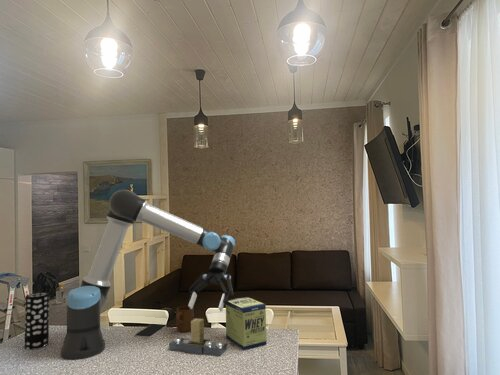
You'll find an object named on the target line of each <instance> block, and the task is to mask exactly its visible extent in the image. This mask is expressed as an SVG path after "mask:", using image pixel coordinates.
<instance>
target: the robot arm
mask: <svg viewBox="0 0 500 375" xmlns="http://www.w3.org/2000/svg"><path fill="white" fill-rule="evenodd" d="M108 204H109V209H108V211H107V214H106V218H107V225H106V227H105V230H104V233H103V235H102V237H101V240H100V243H99V247H98V249H97V251H96V254H95V256H94V259H93V261H92V264H91V267H90V270H89V271H88V274H87V275H86V276H84V277H82V280H81V283H80V284H79V285H80V286H79V287H76V288H73V289H71V290H70V291H69V292H67V297H66V334H65V337H64V341H63V345H62V346H61V350H60V357H61V358H63V359H65V360H66V359H67V360H80V359H85V358H91V357H94V356H96V355H98V354H101V353H102V352H103V351H104V350H105V348H106V342H105V341H106V340H105V339H104V337H103V333H102V330H101V310H102V308H103V307H104V306H105V304H106V302H107V300H108V299H107V298H108V295H109V294H108V293H109V291H110V289H111V286H112V284H111V282H110V278H111V275H112V273H113V269H114V267H115V264H116V261H117V259H118V256H119V253H120V251H121V248H122V245H123V242H124V240H125V237H126V235H127V231H128V229H129V227H131V226H133V225H134V223H135V222H143V223H145V224H147V225H150V226H152V227H154V228H156V229H159V230H162V231H164V232H166V233H169V234H171V235H173V236H174V237H175V236H176V237H178V238H180V239H183V240H184V241H187V242H190V243H192V244H194V245H197V246H199V247H201V248H203V249H205V250H207V251H209V252H210V251H212V252H213V253H214V255H213V258H212V260H211V264H210V266H209V269H208V273H204V272H200V274H199V277H197V279H196V280H195V281H194V282H193V283H192V284H191V285H190V287H189V288H188V292H189V293H190V294H189V298H188V299H189V302H188V305H187V306H189V308H190V309H192V308H193V309H194V305H195V304H196V303H195V302H196V300H197V297H198V293H200V291H202V290H203V289H205V288H206V287H207V286H209V285H212V286H213V285H216V286H217V285H219V286H220V287H221V288H222V291H223V292H224V293H222V295H221V297H220V298H221V299H220V301H219V305H218V309H219V312H223V311H224V306H225V305H226V303H227V300H229V297H230V296H232V297H233V296H234V295H235V294H234V293H235V292H234V290H233V284H232V276H231V274H230V273H227V271H228V267H229V264H230V260H231V257H232V255H233V252H234V250H235V246H236V245H235V244H236V241H235V240H236V239H235V238H234V237H233V236H231V235H228V234H223V235H221V236H219V234H218V233H217V232H214V231H211V230H209V229H206V228H204V227H203V226H200V225H198V224H196V223H193V222H191V221H188V220H186V219H184V218H181V217H179V216H177V215H175V214H172V213H170V212H169V211H166V210H164V209H161V208H158V207H156V206H155V205H152V204H150V203H149V202H148V201H147V199H145V198H142V197H140V196H139V195H137V194H136V193H135V192H133V191H132V190H129V189H119V190H117V191H115V192H114V193H113V194H112V195H111V196H110V198H109V203H108ZM224 280H226V283H227V287H228V290H227V287H225V284H224V282H223V281H224Z"/></svg>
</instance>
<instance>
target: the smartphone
mask: <svg viewBox="0 0 500 375" xmlns="http://www.w3.org/2000/svg"><path fill="white" fill-rule="evenodd" d="M166 328H167V324H163V323H161V324H160V323H151V324H149V325H148V326H146V327H144V328H143V329H141V330H140V331H137V333H135V334H134V335H133V338H146V339H150V338H152V337H153V336H155V335H156V334H159V333H160V332H161V331H163V330H165V329H166Z"/></svg>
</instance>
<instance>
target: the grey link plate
mask: <svg viewBox="0 0 500 375" xmlns="http://www.w3.org/2000/svg"><path fill="white" fill-rule="evenodd" d="M168 349H169V350H168V351H175V352H184V353H185V354H194V355H201V356H202V355H208V356H209V355H211V356H218V357H221V356H223V354H224V353H225V352H226V351H227V350H228V346H227V342H222V341H214V340H213V341H212V340H211V338H204V344H203V345H197V344H191V338H185V337H184V338H183V337H174V338H173V340H172V341H170V342H169V343H168Z"/></svg>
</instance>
